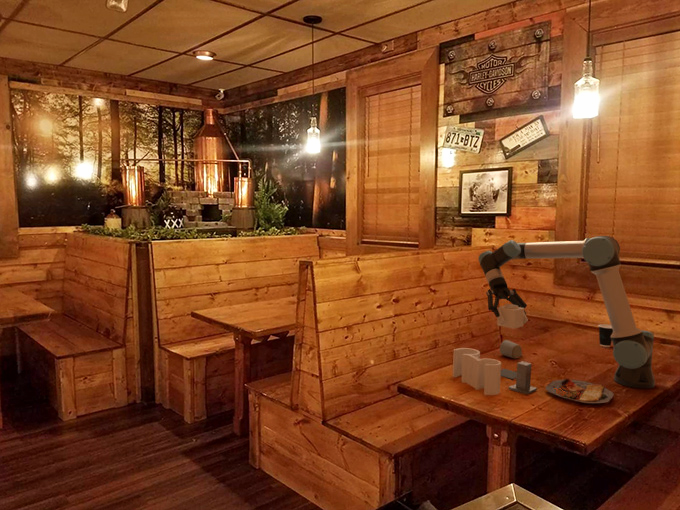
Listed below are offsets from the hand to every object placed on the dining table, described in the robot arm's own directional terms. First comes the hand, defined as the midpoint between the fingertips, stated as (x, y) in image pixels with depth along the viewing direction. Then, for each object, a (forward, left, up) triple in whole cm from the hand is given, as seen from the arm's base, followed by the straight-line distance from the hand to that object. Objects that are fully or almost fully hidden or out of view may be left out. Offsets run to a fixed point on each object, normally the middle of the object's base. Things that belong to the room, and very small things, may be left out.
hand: (514, 322), depth 224 cm
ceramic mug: (+16, -28, -24) cm, 41 cm away
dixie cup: (-6, -87, -24) cm, 91 cm away
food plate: (-29, -1, -24) cm, 38 cm away
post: (-12, +12, -24) cm, 29 cm away
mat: (+2, -1, -24) cm, 24 cm away
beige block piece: (+3, -1, -2) cm, 4 cm away
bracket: (+4, +20, -24) cm, 32 cm away
